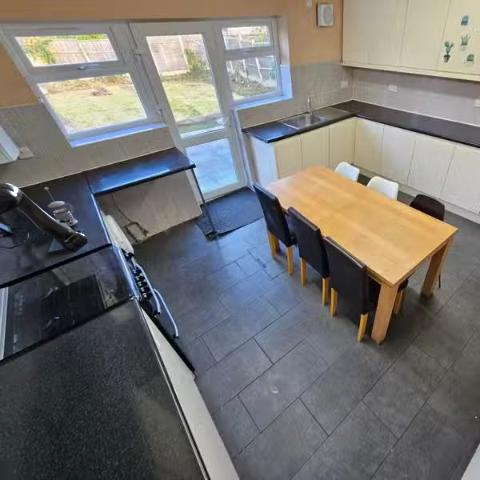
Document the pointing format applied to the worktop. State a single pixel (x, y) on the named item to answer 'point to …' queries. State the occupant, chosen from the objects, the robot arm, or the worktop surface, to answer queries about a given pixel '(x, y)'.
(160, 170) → the worktop surface
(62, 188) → the worktop surface
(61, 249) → the tray
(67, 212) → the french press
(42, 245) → the worktop surface
